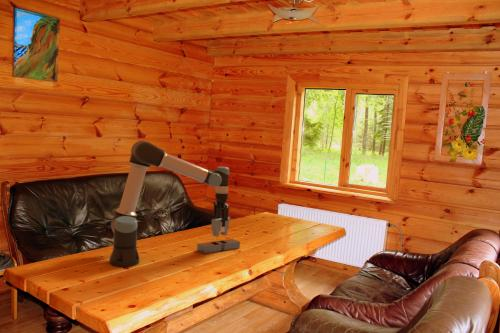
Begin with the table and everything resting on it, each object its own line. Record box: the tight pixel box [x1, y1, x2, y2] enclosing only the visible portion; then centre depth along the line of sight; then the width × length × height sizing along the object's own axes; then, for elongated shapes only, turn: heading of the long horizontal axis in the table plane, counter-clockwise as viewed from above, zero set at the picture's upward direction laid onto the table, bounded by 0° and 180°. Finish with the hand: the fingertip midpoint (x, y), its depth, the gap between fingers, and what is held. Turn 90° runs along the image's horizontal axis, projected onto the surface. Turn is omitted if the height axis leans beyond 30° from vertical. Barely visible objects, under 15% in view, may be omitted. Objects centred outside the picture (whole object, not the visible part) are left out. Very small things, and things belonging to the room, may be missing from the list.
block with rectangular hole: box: [196, 238, 241, 255], centre depth 261 cm, size 26×8×4 cm, turn 130°
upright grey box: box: [210, 217, 230, 238], centre depth 260 cm, size 10×4×10 cm, turn 130°
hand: (219, 231), depth 261 cm, fingers closed on upright grey box, 4 cm apart
